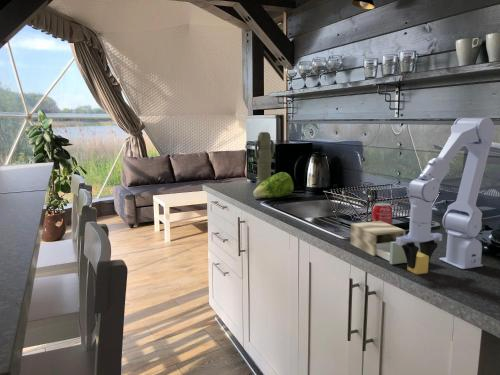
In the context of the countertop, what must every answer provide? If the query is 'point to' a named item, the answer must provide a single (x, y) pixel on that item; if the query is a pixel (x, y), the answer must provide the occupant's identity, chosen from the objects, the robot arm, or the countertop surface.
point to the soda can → (382, 213)
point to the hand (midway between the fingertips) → (417, 266)
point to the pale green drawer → (392, 252)
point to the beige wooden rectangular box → (373, 235)
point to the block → (420, 264)
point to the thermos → (264, 156)
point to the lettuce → (275, 186)
